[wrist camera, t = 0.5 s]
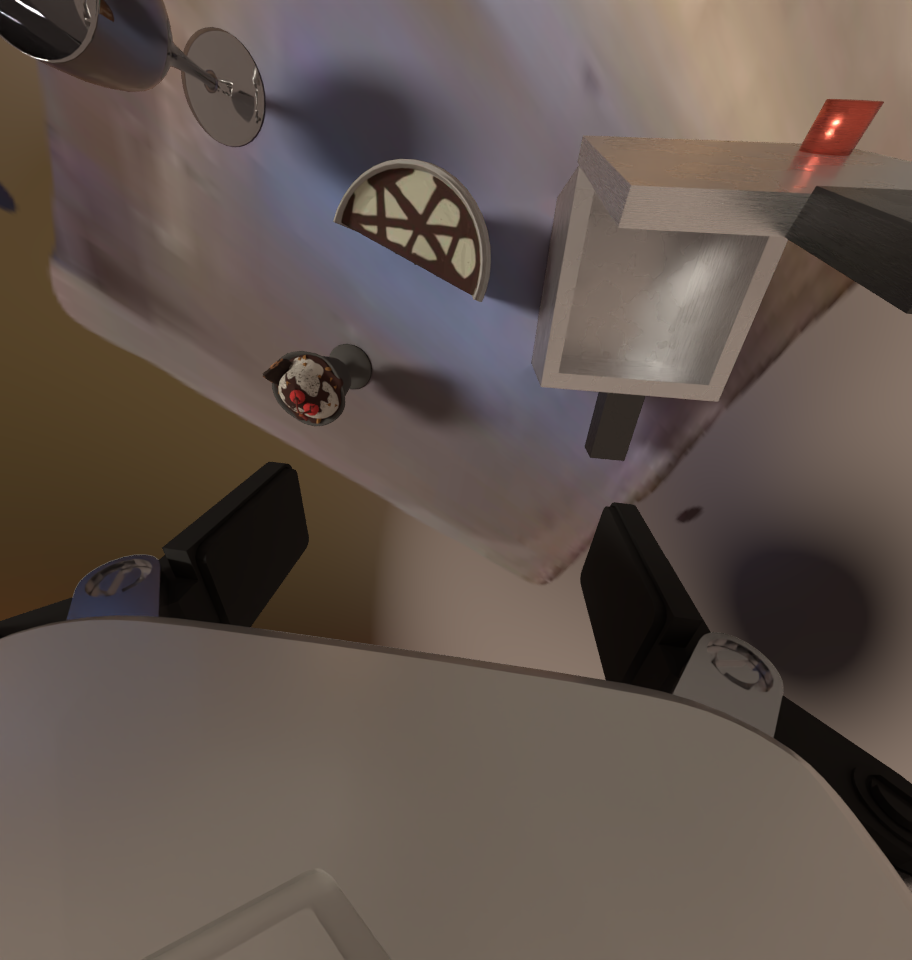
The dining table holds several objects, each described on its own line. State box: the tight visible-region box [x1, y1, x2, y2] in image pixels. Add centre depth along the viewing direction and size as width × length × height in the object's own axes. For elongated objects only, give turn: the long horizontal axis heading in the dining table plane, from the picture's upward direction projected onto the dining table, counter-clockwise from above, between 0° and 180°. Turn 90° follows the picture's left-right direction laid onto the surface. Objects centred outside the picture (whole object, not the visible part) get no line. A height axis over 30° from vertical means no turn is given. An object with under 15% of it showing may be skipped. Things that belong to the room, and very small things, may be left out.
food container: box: [333, 159, 491, 302], centre depth 29 cm, size 12×6×10 cm, turn 64°
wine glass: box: [0, 0, 265, 147], centre depth 23 cm, size 8×8×15 cm
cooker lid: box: [577, 99, 912, 314], centre depth 14 cm, size 20×14×3 cm
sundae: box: [263, 344, 371, 426], centre depth 33 cm, size 7×7×15 cm
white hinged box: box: [531, 166, 788, 461], centre depth 31 cm, size 20×14×10 cm
